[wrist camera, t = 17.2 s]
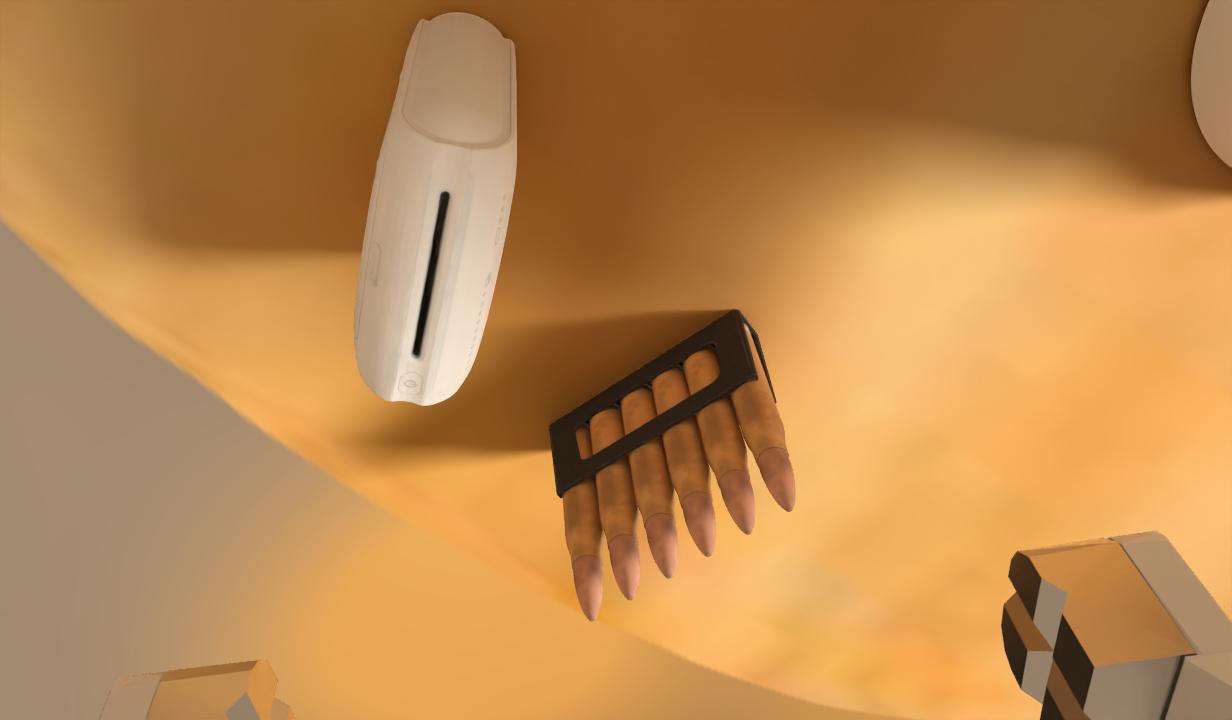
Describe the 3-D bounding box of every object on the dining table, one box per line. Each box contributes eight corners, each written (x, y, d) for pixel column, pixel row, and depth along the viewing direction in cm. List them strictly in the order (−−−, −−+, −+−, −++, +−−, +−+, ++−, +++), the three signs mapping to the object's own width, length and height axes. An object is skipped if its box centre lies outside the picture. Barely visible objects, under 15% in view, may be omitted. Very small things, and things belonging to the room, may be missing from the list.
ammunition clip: (737, 307, 46) (800, 482, 36) (758, 334, 47) (824, 512, 37) (547, 426, 49) (557, 619, 39) (571, 449, 50) (586, 643, 40)
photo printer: (477, 262, 43) (468, 444, 33) (375, 243, 42) (333, 424, 32) (528, 24, 38) (535, 154, 28) (412, -4, 37) (376, 119, 27)
